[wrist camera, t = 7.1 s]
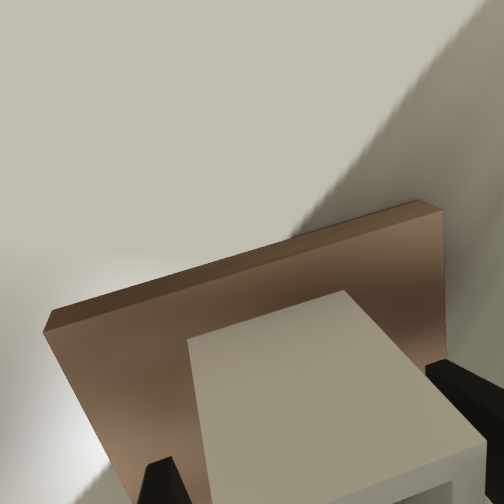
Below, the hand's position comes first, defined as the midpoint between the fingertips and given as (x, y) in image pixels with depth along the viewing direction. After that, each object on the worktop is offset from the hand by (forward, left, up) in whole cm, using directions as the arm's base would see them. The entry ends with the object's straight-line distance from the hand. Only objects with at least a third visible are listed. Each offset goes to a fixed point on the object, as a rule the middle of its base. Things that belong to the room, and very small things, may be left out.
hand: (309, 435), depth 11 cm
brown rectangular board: (-5, 0, -4) cm, 6 cm away
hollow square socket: (0, 0, -3) cm, 3 cm away
